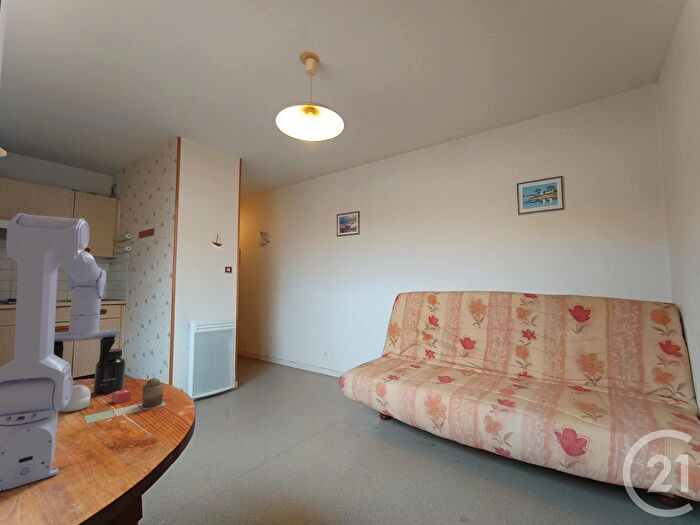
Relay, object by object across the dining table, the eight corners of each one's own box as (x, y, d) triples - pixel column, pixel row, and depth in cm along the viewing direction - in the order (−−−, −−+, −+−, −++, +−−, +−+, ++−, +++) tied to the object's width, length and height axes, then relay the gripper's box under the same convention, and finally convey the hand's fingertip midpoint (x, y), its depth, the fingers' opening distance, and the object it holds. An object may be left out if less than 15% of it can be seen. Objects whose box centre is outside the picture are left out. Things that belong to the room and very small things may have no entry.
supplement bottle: (103, 398, 85) (107, 353, 85) (87, 395, 87) (90, 351, 88) (129, 390, 91) (131, 348, 92) (112, 387, 93) (115, 346, 94)
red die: (130, 403, 82) (130, 391, 82) (117, 406, 79) (117, 394, 79) (124, 400, 83) (125, 388, 83) (111, 404, 81) (112, 392, 81)
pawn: (164, 404, 79) (165, 378, 80) (144, 409, 76) (145, 382, 77) (159, 399, 83) (161, 374, 83) (140, 404, 79) (141, 378, 80)
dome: (91, 408, 76) (92, 385, 76) (59, 415, 72) (61, 390, 72) (88, 402, 80) (90, 380, 80) (58, 408, 76) (60, 384, 76)
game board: (170, 410, 77) (170, 407, 77) (86, 431, 66) (87, 428, 66) (158, 398, 85) (158, 396, 85) (81, 415, 74) (81, 412, 74)
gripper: (117, 312, 86) (114, 362, 85) (44, 315, 75) (39, 372, 74) (123, 314, 81) (119, 367, 80) (45, 317, 70) (39, 378, 69)
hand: (81, 370), depth 77 cm, fingers open, 7 cm apart
